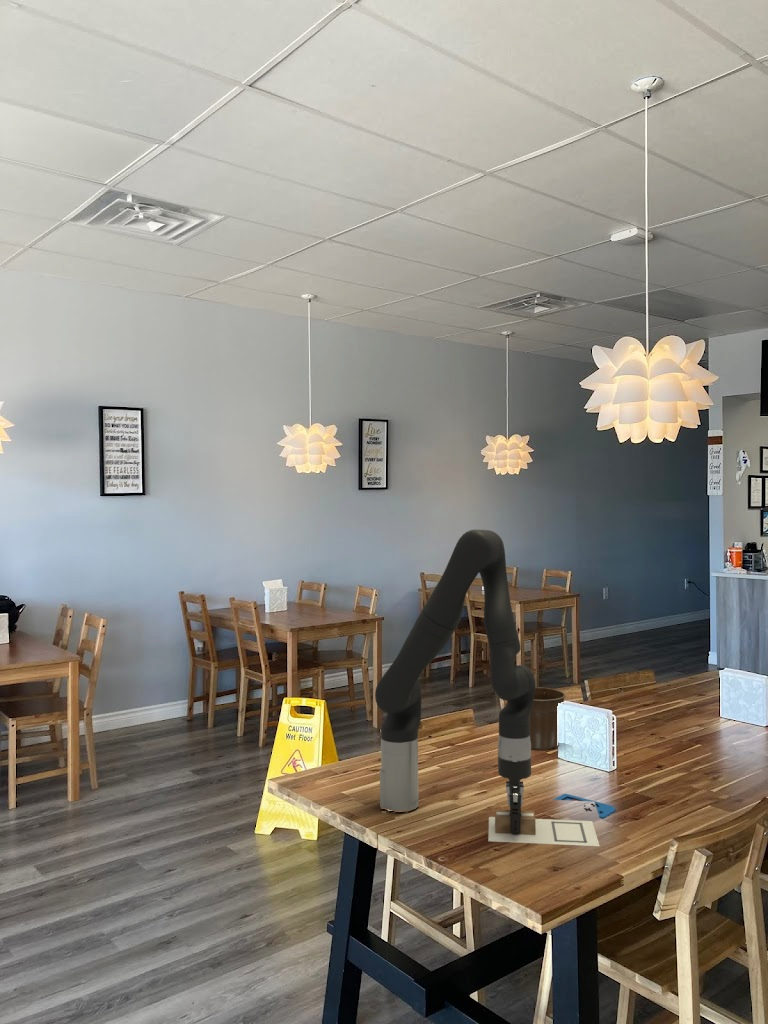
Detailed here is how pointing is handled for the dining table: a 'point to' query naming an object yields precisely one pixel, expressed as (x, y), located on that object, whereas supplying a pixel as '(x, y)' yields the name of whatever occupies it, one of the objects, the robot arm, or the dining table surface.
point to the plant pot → (544, 718)
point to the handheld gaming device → (602, 808)
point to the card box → (525, 822)
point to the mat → (551, 833)
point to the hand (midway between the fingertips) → (515, 827)
